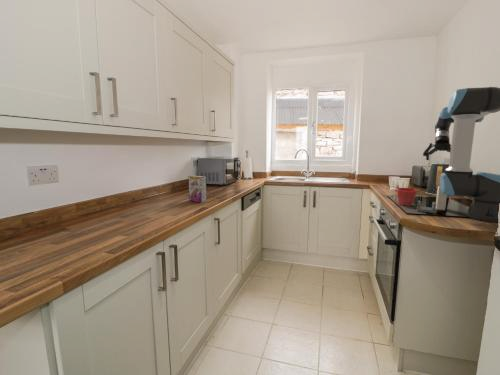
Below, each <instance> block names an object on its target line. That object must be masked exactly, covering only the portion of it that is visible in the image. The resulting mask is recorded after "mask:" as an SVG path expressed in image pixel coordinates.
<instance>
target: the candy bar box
mask: <svg viewBox="0 0 500 375" xmlns="http://www.w3.org/2000/svg"><path fill="white" fill-rule="evenodd" d="M188 200H189V202H196V203H201V204H202V203H203V204H204V203H205V202H207V176H202V175H195V174H193V175H189V176H188Z"/></svg>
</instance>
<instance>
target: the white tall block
mask: <svg viewBox="0 0 500 375" xmlns="http://www.w3.org/2000/svg"><path fill="white" fill-rule="evenodd" d="M447 196H448V195H444V194H443V193H442V192H441V189H440V185H437V192H436V201H435V203H436V211H437V210H438V211H446V207H447V206H446V205H447V198H448V197H447Z"/></svg>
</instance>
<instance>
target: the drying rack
mask: <svg viewBox="0 0 500 375" xmlns="http://www.w3.org/2000/svg"><path fill="white" fill-rule="evenodd" d="M421 202H422V201H421V200H417V205H416V208H415V209H416V212H418V211H420V212H419V213H427V212H428V214H437V209H436V201H432V203H431V207H430V206H429V207H428V206H427V207H426V206H422V203H421Z"/></svg>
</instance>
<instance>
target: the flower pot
mask: <svg viewBox="0 0 500 375" xmlns="http://www.w3.org/2000/svg"><path fill="white" fill-rule="evenodd" d="M396 191H397V193H396V194H397V204H399V205H400V206H409V207H410V206H413V205H414V202H415V198H416V196H417V193H418V190H417V189H416V188H409V187H397V188H396Z"/></svg>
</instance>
